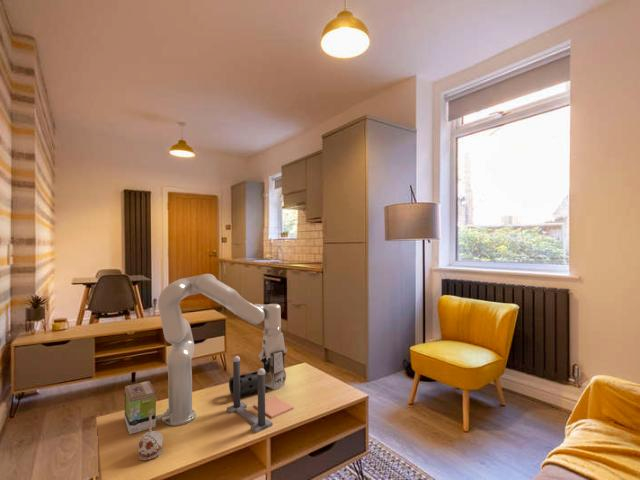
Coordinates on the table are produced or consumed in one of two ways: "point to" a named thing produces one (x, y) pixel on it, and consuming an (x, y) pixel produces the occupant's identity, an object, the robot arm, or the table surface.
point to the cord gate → (239, 407)
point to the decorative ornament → (150, 443)
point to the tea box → (139, 406)
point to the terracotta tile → (275, 407)
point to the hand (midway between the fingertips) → (273, 369)
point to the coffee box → (275, 370)
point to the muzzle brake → (248, 383)
